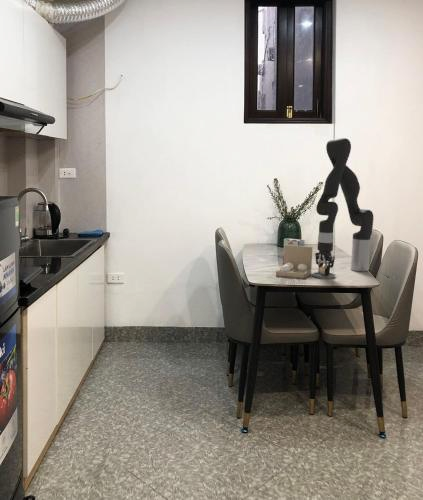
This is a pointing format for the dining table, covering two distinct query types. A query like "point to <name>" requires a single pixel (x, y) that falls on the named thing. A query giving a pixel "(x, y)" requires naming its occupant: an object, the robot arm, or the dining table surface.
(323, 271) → the brown egg
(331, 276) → the slate saucer
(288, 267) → the white egg
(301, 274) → the egg carton
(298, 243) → the candy bar box
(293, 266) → the white egg
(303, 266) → the white egg
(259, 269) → the dining table surface
